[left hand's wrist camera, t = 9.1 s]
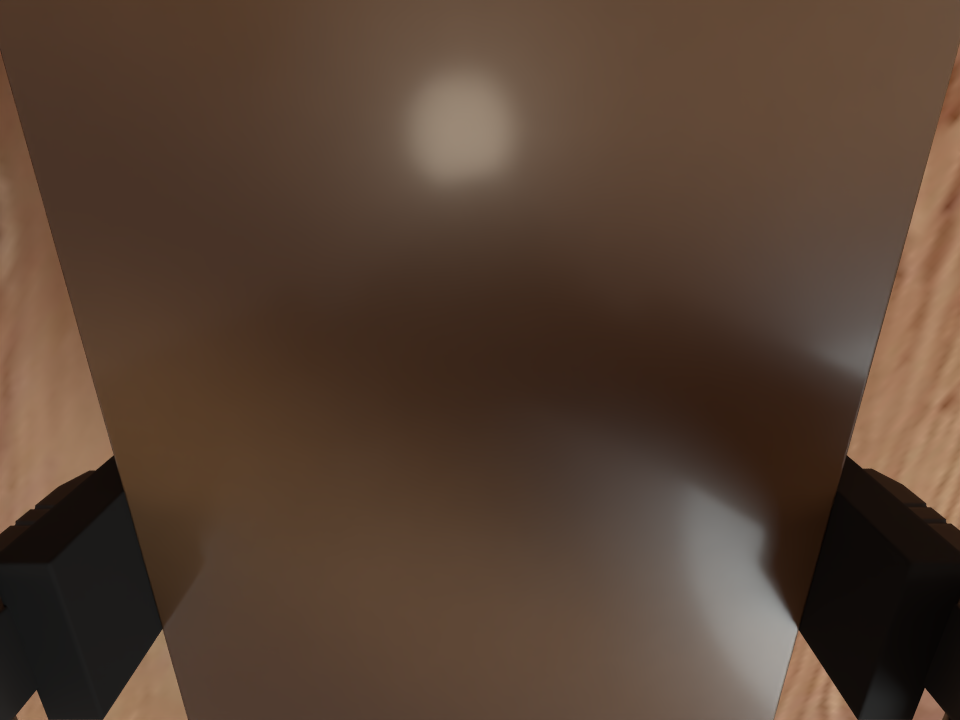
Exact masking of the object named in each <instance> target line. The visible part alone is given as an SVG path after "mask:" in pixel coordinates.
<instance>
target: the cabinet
mask: <svg viewBox="0 0 960 720" xmlns="http://www.w3.org/2000/svg"><path fill="white" fill-rule="evenodd" d="M959 44H960V0H0V51H1V54H2V58H3V61H4V65H5V69H6V72H7V76H8V79H9V83H10V86H11V90H12V94H13V97H14V101H15V104H16V108H17V111H18V115H19V118H20V122H21V126H22V129H23V133H24V136H25V140H26V143H27V147H28V151H29V154H30V158H31V161H32V165H33V168H34V172H35V176H36V179H37V183H38V186H39V190H40V193H41V197H42V200H43V204H44V208H45V211H46V215H47V218H48V222H49V225H50V229H51V233H52V236H53V240H54V243H55V247H56V250H57V254H58V258H59V261H60V265H61V268H62V272H63V275H64V279H65V282H66V286H67V290H68V293H69V297H70V300H71V304H72V307H73V311H74V315H75V318H76V322H77V325H78V329H79V332H80V336H81V340H82V343H83V347H84V350H85V354H86V357H87V361H88V364H89V368H90V372H91V375H92V379H93V382H94V386H95V389H96V393H97V397H98V400H99V404H100V407H101V411H102V414H103V418H104V421H105V425H106V429H107V432H108V436H109V439H110V443H111V446H112V450H113V454H114V457H115V461H116V464H117V468H118V471H119V475H120V479H121V482H122V486H123V489H124V493H125V496H126V500H127V503H128V507H129V511H130V514H131V518H132V521H133V525H134V528H135V532H136V536H137V539H138V543H139V546H140V550H141V553H142V557H143V561H144V564H145V568H146V571H147V575H148V578H149V582H150V585H151V589H152V593H153V596H154V600H155V603H156V607H157V610H158V614H159V618H160V621H161V625H162V628H163V632H164V635H165V639H166V643H167V646H168V650H169V653H170V657H171V660H172V664H173V667H174V671H175V675H176V678H177V682H178V685H179V689H180V692H181V696H182V700H183V703H184V707H185V710H186V714H187V717H188V720H774V717H775V714H776V710H777V706H778V703H779V699H780V696H781V692H782V688H783V685H784V681H785V677H786V674H787V670H788V666H789V663H790V659H791V655H792V652H793V648H794V645H795V641H796V637H797V634H798V630H799V626H800V623H801V619H802V615H803V612H804V608H805V605H806V601H807V597H808V594H809V590H810V586H811V583H812V579H813V575H814V572H815V568H816V564H817V561H818V557H819V554H820V550H821V546H822V543H823V539H824V535H825V532H826V528H827V524H828V521H829V517H830V513H831V510H832V506H833V503H834V499H835V495H836V492H837V488H838V484H839V481H840V477H841V473H842V470H843V466H844V463H845V459H846V455H847V452H848V448H849V444H850V441H851V437H852V433H853V430H854V426H855V422H856V419H857V415H858V412H859V408H860V404H861V401H862V397H863V393H864V390H865V386H866V382H867V379H868V375H869V371H870V368H871V364H872V361H873V357H874V353H875V350H876V346H877V342H878V339H879V335H880V331H881V328H882V324H883V321H884V317H885V313H886V310H887V306H888V302H889V299H890V295H891V291H892V288H893V284H894V280H895V277H896V273H897V270H898V266H899V262H900V259H901V255H902V251H903V248H904V244H905V240H906V237H907V233H908V229H909V226H910V222H911V219H912V215H913V211H914V208H915V204H916V200H917V197H918V193H919V189H920V186H921V182H922V179H923V175H924V171H925V168H926V164H927V160H928V157H929V153H930V149H931V146H932V142H933V138H934V135H935V131H936V128H937V124H938V120H939V117H940V113H941V109H942V106H943V102H944V98H945V95H946V91H947V87H948V84H949V80H950V77H951V73H952V69H953V66H954V62H955V58H956V55H957V51H958V47H959Z"/></svg>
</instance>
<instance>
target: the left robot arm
mask: <svg viewBox="0 0 960 720" xmlns="http://www.w3.org/2000/svg"><path fill="white" fill-rule="evenodd" d="M162 629H163V628H162V625H161V621H160V618H159V614H158V610H157V607H156V603H155V600H154V596H153V593H152V589H151V585H150V582H149V578H148V575H147V571H146V568H145V564H144V561H143V557H142V553H141V550H140V546H139V543H138V539H137V536H136V532H135V528H134V525H133V521H132V518H131V514H130V511H129V507H128V503H127V500H126V496H125V493H124V489H123V486H122V482H121V479H120V475H119V471H118V468H117V464H116V461H115V457H114V456H112V457H111V458H110V459H109V460H108V461H107V462H105V463H104V464H103V465H102V466H101V467H100V468H98V469H97V470H96V471H88V472H86V473H84V474H82V475H80V476H78V477H76V478H74V479H72V480H70V481H68V482H67V483H65V484H63V485H61V486H59V487H57V488H56V489H55V490H54V491H53V492H51V493H50V494H49V495H48V496H46V497H45V498H44V499H43V500H41V501H40V502H39V503H38V504H37V505H35V509H30V510H29V511H28V512H27V513H25V514H24V515H23V516H22V517H21V518H19V519H18V520H17V521H16V524H15V526H9V527H8V528H7V529H6V530H5V531H3V532H2V533H1V534H0V720H18V719H17V717H16V714H17V713H18V712H19V711H20V710H21V708H22V707H23V706H24V705H25V703H26V702H27V701H28V700H29V698H30V697H31V696H32V695H33V694H34V692H35V691H36V690H37V692H38V694H39V697H40V699H41V702H42V704H43V707H44V709H45V712H46V714H47V717H48V720H103V719H104V717H105V716H106V714H107V713H108V711H109V710H110V708H111V707H112V705H113V704H114V702H115V701H116V699H117V697H118V696H119V694H120V693H121V691H122V690H123V688H124V687H125V685H126V684H127V682H128V681H129V679H130V678H131V676H132V675H133V673H134V672H135V670H136V668H137V667H138V665H139V664H140V662H141V661H142V659H143V658H144V656H145V655H146V653H147V652H148V650H149V649H150V647H151V646H152V644H153V643H154V641H155V639H156V638H157V636H158V635H159V633H160V632H161V630H162ZM799 631H800V632H801V634H802V636H803V637H804V639H805V640H806V642H807V643H808V645H809V646H810V648H811V649H812V651H813V652H814V654H815V655H816V657H817V658H818V660H819V661H820V663H821V665H822V666H823V668H824V669H825V671H826V672H827V674H828V675H829V677H830V678H831V680H832V681H833V683H834V684H835V686H836V687H837V689H838V690H839V692H840V694H841V695H842V697H843V698H844V700H845V701H846V703H847V704H848V706H849V707H850V709H851V710H852V712H853V713H854V715H855V716H856V718H857V719H858V720H912V719H913V716H914V714H915V711H916V709H917V706H918V704H919V701H920V699H921V696H922V694H923V691H924V689H925V688H926V690H927V691H928V692H929V693H930V694H931V696H932V697H933V698H934V699H935V701H936V702H937V703H938V704H939V705H940V707H941V708H942V709H943V710H944V712H945V714H944V717H943V719H942V720H960V530H958V529H957V528H956V527H955V526H953V525H952V524H947V523H946V519H945V518H944V517H942V516H941V515H940V514H939V513H937V512H936V511H935V510H934V509H932V508H931V507H927V506H926V503H925V502H924V501H922V500H921V499H920V498H919V497H917V496H916V495H915V494H914V493H913V492H911V491H910V490H909V489H908V488H906V487H905V486H904V485H902V484H900V483H899V482H897V481H895V480H893V479H891V478H889V477H887V476H885V475H883V474H881V473H879V472H877V471H875V470H873V469H862V468H861V467H860V466H859V465H858V464H856V463H855V462H854V461H853V460H852V459H851V458H849V457H848V456H847V455H846V459H845V463H844V466H843V470H842V473H841V477H840V481H839V484H838V488H837V492H836V495H835V499H834V503H833V506H832V510H831V513H830V517H829V521H828V524H827V528H826V532H825V535H824V539H823V543H822V546H821V550H820V554H819V557H818V561H817V564H816V568H815V572H814V575H813V579H812V583H811V586H810V590H809V594H808V597H807V601H806V605H805V608H804V612H803V615H802V619H801V623H800V626H799Z"/></svg>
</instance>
